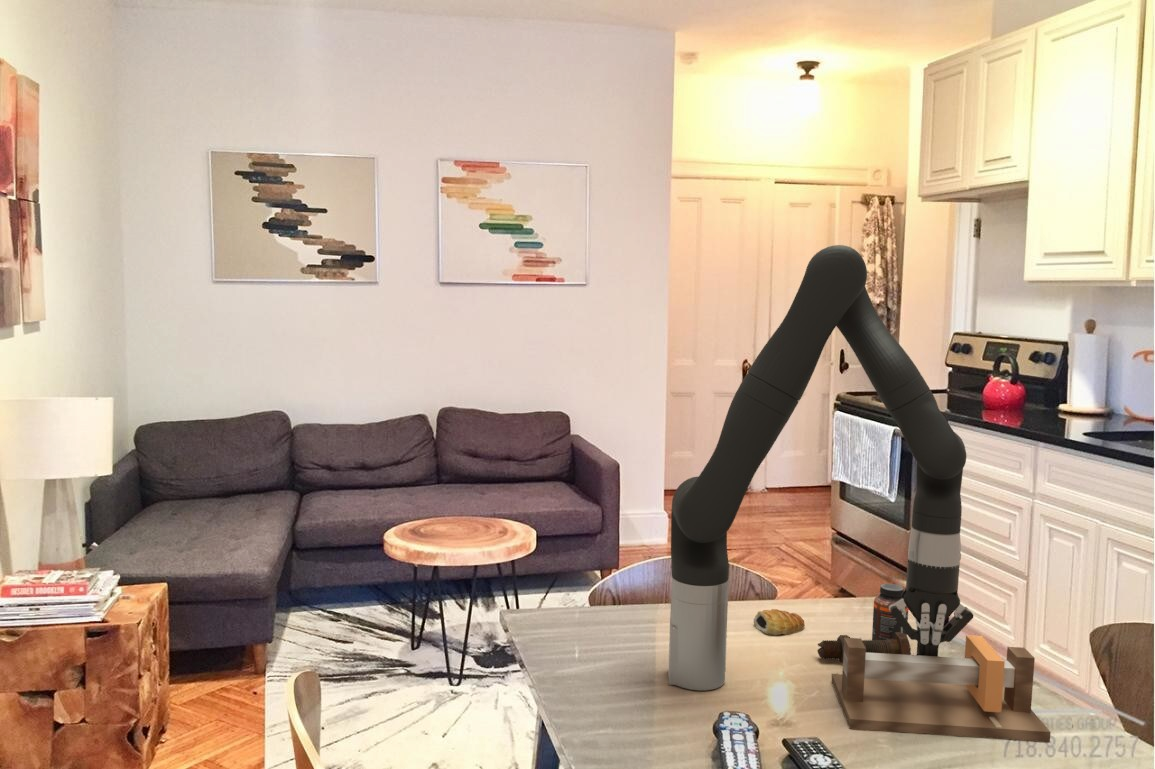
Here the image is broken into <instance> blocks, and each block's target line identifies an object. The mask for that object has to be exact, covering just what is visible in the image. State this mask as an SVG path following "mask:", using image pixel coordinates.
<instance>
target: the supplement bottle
mask: <svg viewBox="0 0 1155 769" xmlns="http://www.w3.org/2000/svg"><path fill="white" fill-rule="evenodd" d="M904 591H905V589H904V587H903V586H901V585H899V584H894V583H883V584H881V585H880V588H879V593H880V594H878V595H876V596H875V598H874V600H873V611H872V612H873V613H872V632H871V633H872V634H871V640H887V639H893V638H894V634H895V632H902V633H904V634H905V635H906V636H907V637H908V635H907V634H906V632H905V631H904V629H903V628H902V627H901V625H900V624H899V623H898V621H897V620H896V618H895V617H894V616H893V614H892V613H891V611H890V610H889V609H888V604H889V603H896V602H897V601H899V600H900V599H902V594H903V592H904ZM905 610H906V614H905V615H904V617H905V619H906V620H907V622H908V623H909V609H908V607H907V606H905Z"/></svg>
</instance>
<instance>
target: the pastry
mask: <svg viewBox="0 0 1155 769" xmlns="http://www.w3.org/2000/svg"><path fill="white" fill-rule="evenodd" d="M753 624H754V627H755V628H756V629H757V630H759V631H761V632H763V633H764V634H766V635H770V636H780V635H782V634H783V635H784V636H786V635H790V634H794V633H798V632H801V631H802V630H803V629H805V620H804V619H803V618H802V616H800V615H799V614H797V613H795V612H791V613H790V612H789V611H786V610H779V609H778V608H777V609H775V608H773V609H772V608H771V609H770V610H769V609H763V610H762V611H757V614H755V616H754V618H753Z"/></svg>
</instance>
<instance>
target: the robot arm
mask: <svg viewBox="0 0 1155 769" xmlns="http://www.w3.org/2000/svg"><path fill="white" fill-rule="evenodd" d="M865 262H866V261H865V260H864V258H863V256H862V254H860V253H859V252H858V251H857V250H856V249H855V248H853V247H852V246H848V245H843V244H837V245H836V244H834V245H831V246H827V247H825V248H822V249H820V250H819V251H817V252H816V253H815V254H813V256H812V257H811V259H810V260H809V261H808V263H807V266H806V267H805V268H806V269H805V271H804V272H805V273H804V275H803V277H802V281H801V282H800V285H799V287H798V289H797V292H796V294H795V296H794V298H793V300H792V303H791V305H790V307H789V309H788V311H787V313H786V314H785V317H784V318H783V319H782V321H781V323H780V324H779V326H778V327H777V328H776V330H775V331H774V333H773V334H772V335H771V336H770V338H769V339H768V340H767V342H766V343H765V344H764V346H763V347H762V349H761V350H760V352H759V353H758V355H757V356H756V358H755V359H754V361H753V362H752V363H751V365H750V367H749V368H748V370H747V372H746V374H745V376H744V378H743V379H742V381H741V382H740V384H739V387H738V388H737V390H736V391H735V394H734V396H733V398H732V400H731V403H730V405H729V408H728V410H727V413H726V416H725V419H724V422H723V425H722V429H721V431H720V435H719V438H718V441H717V443H716V446H715V449H714V451H713V452H712V454H711V456H710V458H709V460H708V461H707V463H706V465H705V466H704V468H703V469H702V471H701V472H700V474H699V475H698V476H693V477H690V478H688V479H686V480H684V481H683V482H681V484H680V485H678V486H677V488H676V489H675V491H674V493H673V495H672V496H673V497H672V501H671V512H670V513H671V514H670V515H671V516H670V520H671V521H670V557H671V558H670V560H671V585H670V586H671V587H670V612H669V613H670V617H669V638H668V639H669V640H668V641H669V642H668V643H669V644H668V646H669V647H668V652H669V653H668V675H667V676H668V682H667V684H668V685H671V686H672V685H673V686H677V687H679V688H682V689H686V690H691V691H712V690H715V689H719V688H721V687H722V686H723V685H725V681H726V668H727V667H726V661H727V635H728V634H727V633H728V632H727V631H728V630H727V629H728V609H729V608H728V606H729V605H728V604H729V579H730V578H729V576H730V572H729V571H730V563H729V556H728V553H729V552H728V531H729V530H730V528H731V527H732V526H733V523H734V521H735V518H736V517H737V514H738V512H739V509H740V507H741V504H742V502H743V500H744V498H745V496H746V493H747V491H748V489H749V487H750V484H751V482H752V480H753V478H754V476H755V475H756V473H757V470H758V469H759V467H760V466H761V465H762V463H763V462H764V460H765V458H766V457H767V456H768V454H769V453H770V451H771V449H772V447H773V445H774V444H775V443H776V441H777V439H778V438H779V436H780V434H781V432H782V431H783V429H784V428H785V426H786V425H787V423H788V421H789V420H790V418H791V416H792V414H793V412H794V411H795V409H797V408H796V407H797V406H798V404H799V403H800V400H801V399H802V397H803V395H804V393H805V391H806V388H807V387H808V384H809V383H810V380H811V379H812V377H813V374H814V372H815V369H816V368H817V364H818V362H819V360H820V358H821V355H822V353H823V350H824V348H825V345H826V344H827V342H828V340H829V339H830V337H831V334H832V333H833V331H834V330H835V329H836V328H837V330H839V332H840V333H841V335H842V336H843V338H844V339H845V340H846V342H847V343H848V345H849V347H850V348H851V349H852V352H854V355H855V356H856V358H857V360H858V362H859V364H860V365H861V367H862V368H863V370H864V372H865V374H866V376H867V378H868V379H869V382H870V383H871V385H872V387H873V388H874V391H876V393H877V395H878V397H879V399H880V400H881V402H882V404H883V406H884V407H885V409H886V410H887V412H888V413H889V415H890V417H891V418H892V419H893V420H894V423H896V424H897V426H898V428H899V429H900V432H901V435H902V436H903V438H904V440H905V442H906V445H907V446H908V448H909V450H910V452H911V454H912V456H913V458H914V460H915V462H916V475H915V476H916V482H915V484H916V486H915V487H916V489H915V494H914V499H913V503H912V504H913V506H912V515H911V529H910V535H909V539H908V550H907V552H908V554H907V566H906V567H907V568H906V578H905V579H906V580H905V582H906V583H905V589H904V592H903V594H902V599H900V600H899V601H897V602H896V603H889V604H888V609H889V610H890V611H891V613H892V614H893V616H894V617H895V618H896V620H897V621H898V623H899V624H900V625H901V627H902V628H903V629H904V631H905V632H906V634H907V637H908V639H910V640H912V641H914V640H915V641H917V642H916V644H917V645H916V655H919V656H937V657H939V646H940V644H941V643H944V642H946V643H950V642H951V641H952V640H953V639H954V638H955V637H956V636H958V634H959V633H960V632H961V631H963V629H964V628H965V627H967V625H968V624H969V623H970V622H971V621H972V620H973V619H974V614H973V613H972V611H971V610H970V609H969V608H968V607H966V606H964V605H963V604H961V598H960V597H959V593H958V590H959V576H960V567H961V566H960V565H961V564H960V563H961V559H962V553H961V551H962V550H961V549H962V548H961V547H962V544H961V525H962V512H963V511H962V509H963V507H962V506H963V505H962V497H961V496H962V495H961V491H962V490H961V489H962V483H963V482H962V481H963V471H964V467H965V465H966V463H967V462H966V461H967V451H966V446H965V443H964V441H963V439H962V438H961V437H960V436H959V434H958V433H956V432H954V430H953V428H952V427H951V425H950V423H949V421H948V420H947V419H946V418H945V415H944V414H943V413H942V412H941V409H940V408H939V405H938V403H937V400H936V397H935V396H934V394H933V392H932V390H931V389H930V387H929V385H928V384H927V382H926V381H925V378H924V377H923V375H922V374H921V372H920V370H919V369H918V367H917V366H916V364H915V363H914V361H913V360H912V358H911V357H910V356H909V354H908V353H907V352H906V351H905V350H904V348H903V347H902V346H901V344H900V343H899V342H898V341H897V340H896V338H895V337H894V335H893V334H892V333H891V332H890V330H889V329H888V328H887V326H886V324H884V322H883V320H882V319H881V317H880V315H879V313H878V312H877V310H876V308H875V307H874V305H873V301H872V300H871V297H870V295H869V292H868V291H867V290H868V289H867V288H866V283H867V280H868V268H867V264H866V263H865ZM905 606H907V607H908V611H909V612H910V614H911V615H913V617H914V618H915V624H916V626H915V627H916V629H915V628H913V627H912V625H911V624H910V623H909V621H908V622H907V620H906V619H905V617H904V615H905V614H906V610H905ZM952 614H953V617H951V615H952ZM950 617H951V619H950V620H949V621H947V620H948V619H949V618H950ZM946 621H947V623H946V624H945V622H946ZM944 624H945V625H944Z"/></svg>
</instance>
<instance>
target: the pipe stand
mask: <svg viewBox="0 0 1155 769" xmlns="http://www.w3.org/2000/svg"><path fill="white" fill-rule="evenodd" d="M862 640H863V639H862V638H859V637H858V638H855V637H850V638H844V651H843V664H842V670H841V671H842V673H831V681H830V682H831V685H832V688H833V690H834V693H835V695H836V697H837V700H838V703H839V706H840V708H841V710H842V712H843V715H844V717H845V719H846V720H845V721H846V723H847V725H848V727H849V729H851V730H863V731H879V732H880V731H881V732H894V733H908V734H909V733H911V734H923V733H926V734H925V735H936V736H937V735H940V736H954V737H955V736H956V737H957V736H958V737H969V738H972V737H973V738H984V739H985V738H986V739H1001V740H1013V741H1014V740H1016V741H1027V742H1028V741H1029V742H1047V743H1050V742H1051V731H1050V729H1048V727H1047V726H1046V725H1045V724H1044V722H1043V721H1042V719H1040V718H1039V717H1038V716H1037V714H1036V713H1035V712H1034V710H1032V701H1033V700H1032V699H1033V698H1032V697H1033V687H1034V686H1033V685H1034V672H1035V657H1034V656H1033V654H1031V653H1030V652H1029V651H1028V650H1027V649H1026V648H1025V647H1020V646H1019V647H1018V646H1007V647H1006V648H1007V649H1006V650H1007V651H1006V660H1004V659H1003V660H1004V661H1005V664H1004V679H1003V693H1002V708H1001V712H987V711H984V710H983V709H982V708H981V706H980V705H979V704H978V702H977V701H976V700H975V698H974V697H973V695H972V694H971V693H970V691H969V690H968V689H967V687H966V686H965V685H976V686H978V684H979V669H980V665H979V663H978V662H977V661H976V660H975V659H972V658H965V657H952V656H938V657H937V656H919V655H917V654H916V655H914V654H911V655H902V654H885V653H867V652H866V648H865V646H864V644H863V642H862Z"/></svg>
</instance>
